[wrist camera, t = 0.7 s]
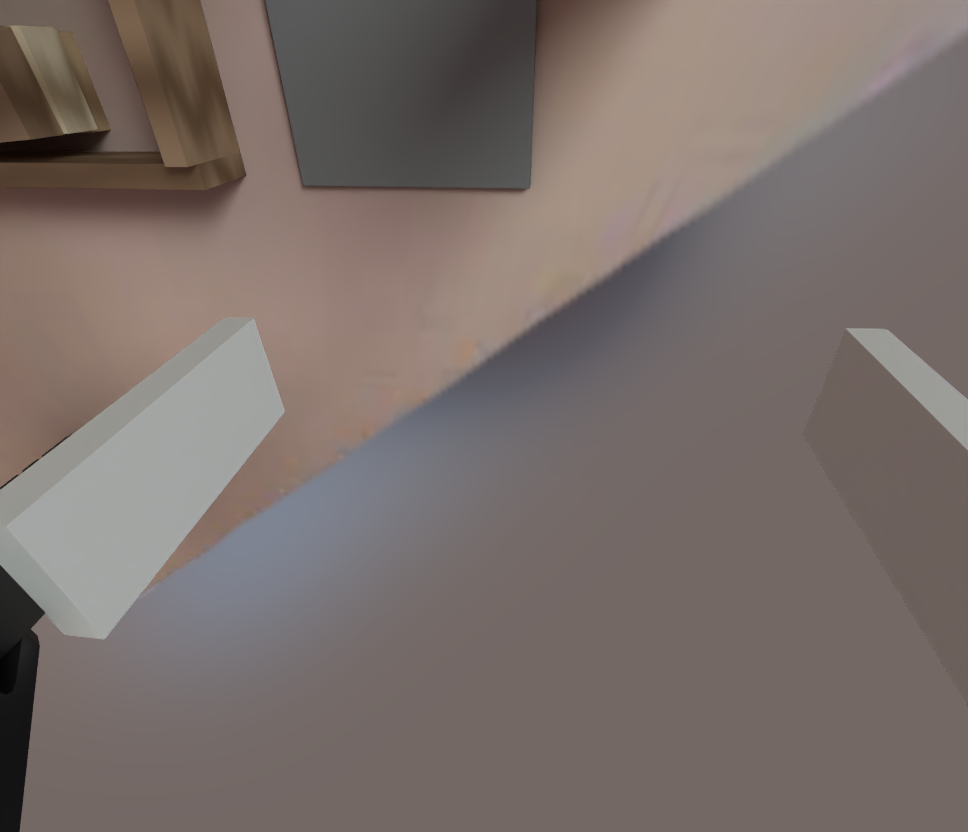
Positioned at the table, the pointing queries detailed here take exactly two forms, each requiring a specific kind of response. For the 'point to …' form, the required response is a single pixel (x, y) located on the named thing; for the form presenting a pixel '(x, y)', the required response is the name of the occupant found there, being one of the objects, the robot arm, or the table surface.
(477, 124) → the charcoal mat
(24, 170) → the frame
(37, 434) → the table surface
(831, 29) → the table surface
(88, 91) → the oak offcut
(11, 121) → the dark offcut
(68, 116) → the birch offcut
